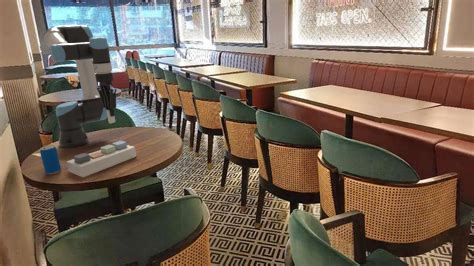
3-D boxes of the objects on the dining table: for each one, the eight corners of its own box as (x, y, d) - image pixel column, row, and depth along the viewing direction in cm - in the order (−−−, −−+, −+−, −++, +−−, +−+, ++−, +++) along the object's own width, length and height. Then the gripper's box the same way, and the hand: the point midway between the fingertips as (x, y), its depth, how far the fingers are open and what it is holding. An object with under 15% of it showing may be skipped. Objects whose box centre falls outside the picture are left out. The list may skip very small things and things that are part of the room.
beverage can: (49, 169, 153) (43, 145, 149) (63, 168, 154) (58, 144, 150) (42, 175, 147) (36, 150, 143) (57, 174, 147) (51, 149, 144)
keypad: (68, 171, 150) (66, 161, 148) (121, 152, 171) (120, 143, 170) (83, 177, 143) (80, 166, 141) (136, 156, 164) (134, 146, 163)
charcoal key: (75, 162, 148) (73, 156, 147) (85, 159, 151) (83, 152, 150) (80, 164, 145) (79, 158, 144) (90, 161, 149) (89, 154, 148)
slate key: (113, 149, 163) (112, 143, 162) (121, 146, 166) (120, 140, 165) (119, 150, 160) (118, 145, 159) (127, 147, 163) (126, 142, 162)
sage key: (101, 153, 158) (100, 147, 157) (110, 150, 161) (109, 144, 160) (107, 155, 155) (106, 149, 154) (116, 152, 158) (114, 146, 158)
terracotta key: (89, 161, 153) (88, 155, 152) (98, 158, 157) (97, 152, 156) (95, 163, 150) (93, 157, 150) (104, 160, 154) (103, 154, 153)
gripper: (88, 73, 151) (97, 122, 158) (103, 74, 143) (112, 126, 151) (103, 71, 157) (111, 119, 164) (119, 72, 149) (126, 122, 156)
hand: (112, 122), depth 157 cm, fingers closed
